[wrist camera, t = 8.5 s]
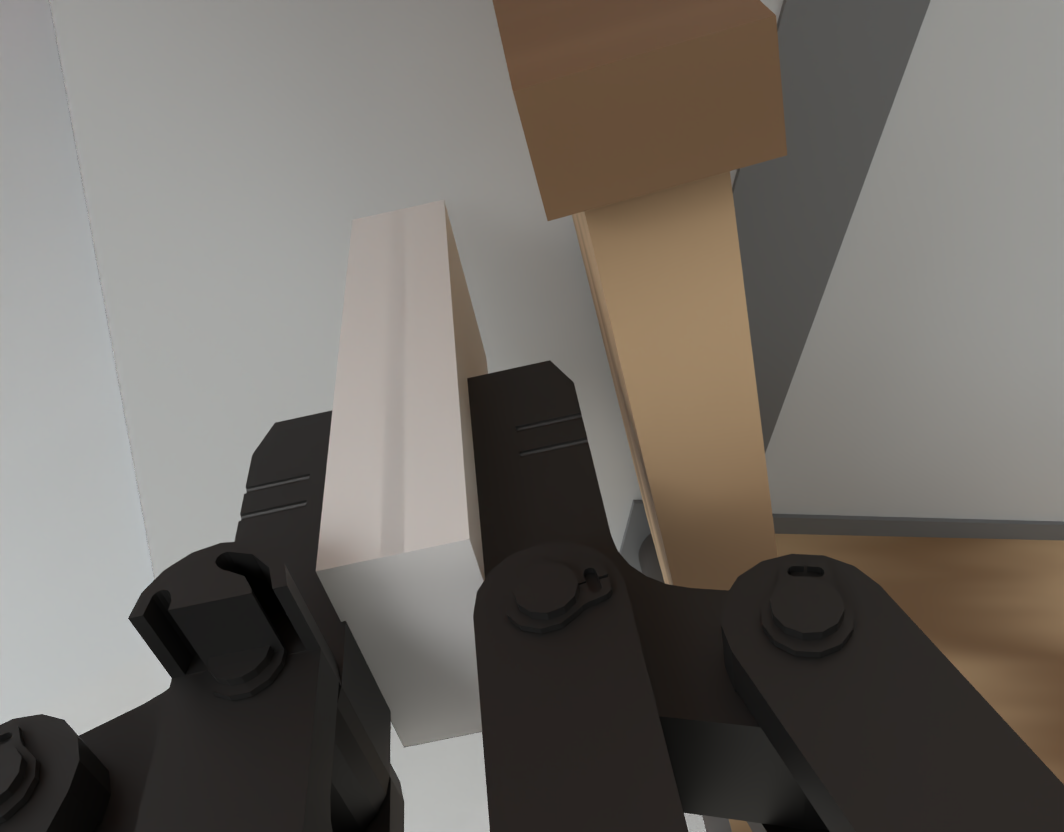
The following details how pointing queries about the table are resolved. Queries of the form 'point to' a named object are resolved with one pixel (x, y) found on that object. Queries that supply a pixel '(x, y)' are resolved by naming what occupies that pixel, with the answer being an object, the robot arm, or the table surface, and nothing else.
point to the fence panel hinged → (663, 241)
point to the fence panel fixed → (967, 617)
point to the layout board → (554, 253)
